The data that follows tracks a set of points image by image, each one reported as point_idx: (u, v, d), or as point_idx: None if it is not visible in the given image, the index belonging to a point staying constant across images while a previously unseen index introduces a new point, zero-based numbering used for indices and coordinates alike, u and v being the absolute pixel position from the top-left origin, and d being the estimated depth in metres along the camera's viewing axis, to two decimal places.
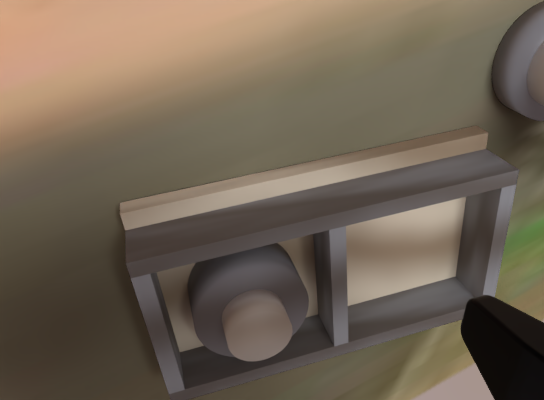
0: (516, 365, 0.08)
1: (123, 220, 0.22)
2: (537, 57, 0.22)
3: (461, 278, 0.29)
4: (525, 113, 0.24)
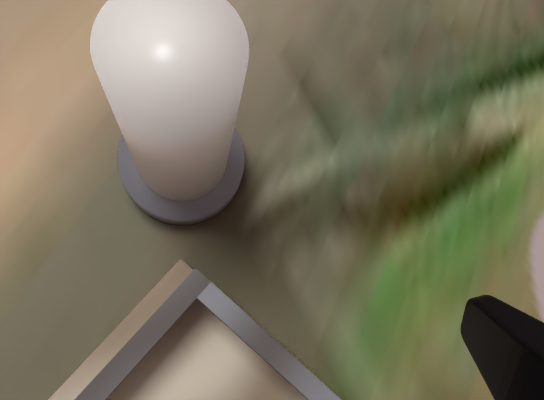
0: (516, 365, 0.08)
1: None
2: (139, 173, 0.21)
3: None
4: (190, 216, 0.21)
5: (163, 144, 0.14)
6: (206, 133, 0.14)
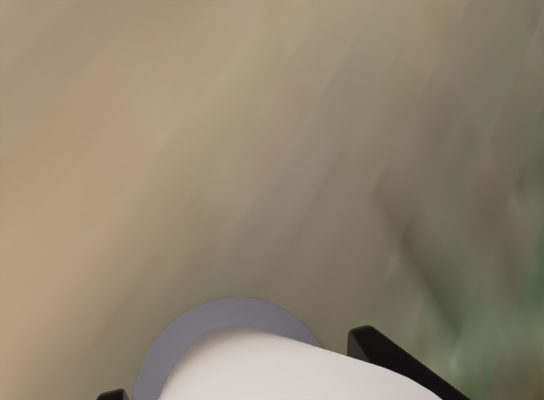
0: None
1: None
2: None
3: None
4: None
5: None
6: None
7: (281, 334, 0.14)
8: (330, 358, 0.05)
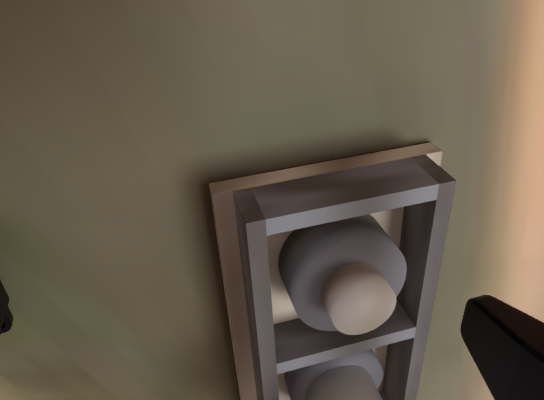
0: (516, 365, 0.08)
1: (435, 153, 0.23)
2: (352, 368, 0.27)
3: None
4: (301, 380, 0.27)
5: None
6: None
7: None
8: None
